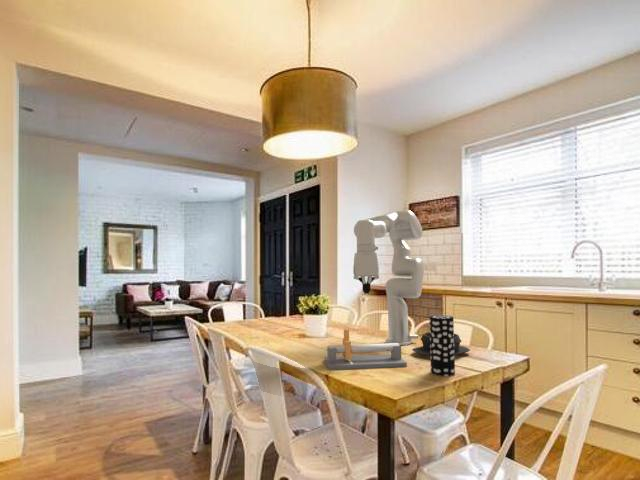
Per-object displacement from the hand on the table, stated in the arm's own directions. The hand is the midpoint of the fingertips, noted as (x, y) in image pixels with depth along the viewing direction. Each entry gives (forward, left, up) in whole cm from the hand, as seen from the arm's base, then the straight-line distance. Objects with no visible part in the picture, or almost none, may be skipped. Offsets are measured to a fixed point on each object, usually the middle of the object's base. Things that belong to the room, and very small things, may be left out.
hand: (366, 293), depth 164 cm
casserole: (-33, -3, -27) cm, 43 cm away
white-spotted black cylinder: (-22, +24, -27) cm, 42 cm away
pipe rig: (+3, +7, -27) cm, 28 cm away
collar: (+10, +7, -24) cm, 27 cm away
